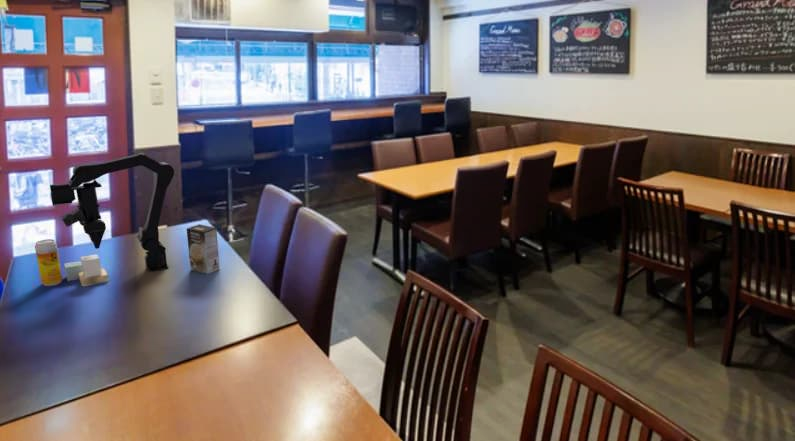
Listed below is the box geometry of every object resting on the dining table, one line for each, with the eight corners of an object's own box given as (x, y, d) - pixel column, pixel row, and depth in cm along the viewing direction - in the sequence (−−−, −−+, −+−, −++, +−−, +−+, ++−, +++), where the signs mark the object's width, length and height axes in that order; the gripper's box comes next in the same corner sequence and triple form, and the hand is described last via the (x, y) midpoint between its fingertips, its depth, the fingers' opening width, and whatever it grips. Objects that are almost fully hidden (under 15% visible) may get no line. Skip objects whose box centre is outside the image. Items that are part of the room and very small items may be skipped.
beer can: (52, 287, 181) (45, 244, 177) (37, 285, 182) (29, 243, 178) (66, 280, 187) (59, 239, 183) (51, 279, 188) (44, 238, 184)
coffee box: (189, 270, 197) (185, 228, 193) (203, 264, 203) (199, 223, 198) (207, 274, 193) (203, 231, 189) (220, 269, 199) (217, 227, 194)
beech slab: (105, 276, 193) (103, 268, 192) (108, 282, 186) (107, 274, 186) (79, 280, 188) (78, 272, 187) (82, 288, 182) (81, 279, 181)
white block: (99, 270, 190) (96, 254, 188) (101, 274, 186) (99, 258, 184) (83, 273, 187) (80, 257, 185) (85, 277, 183) (82, 261, 181)
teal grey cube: (82, 274, 193) (80, 260, 192) (84, 278, 189) (82, 264, 188) (66, 276, 190) (64, 263, 189) (67, 281, 187) (65, 267, 185)
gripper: (57, 199, 185) (65, 242, 189) (63, 210, 170) (71, 257, 174) (94, 194, 191) (101, 236, 195) (102, 205, 176) (109, 250, 180)
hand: (95, 245), depth 186 cm, fingers open, 9 cm apart
